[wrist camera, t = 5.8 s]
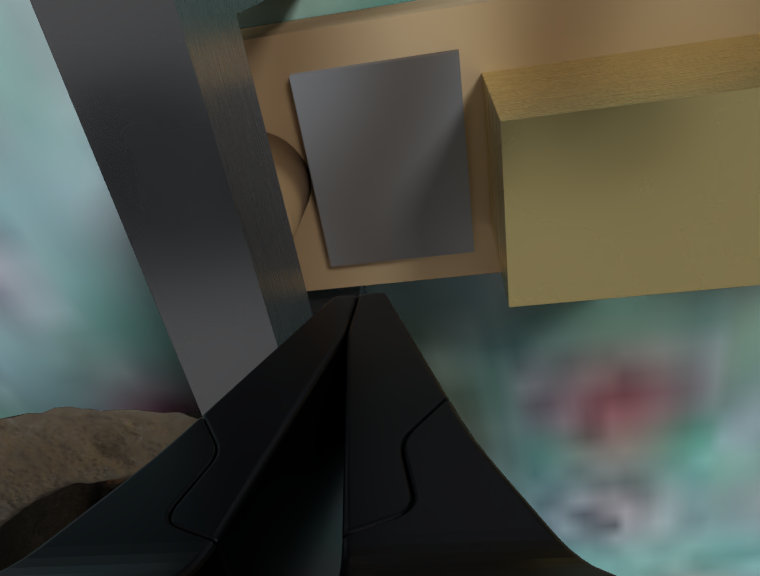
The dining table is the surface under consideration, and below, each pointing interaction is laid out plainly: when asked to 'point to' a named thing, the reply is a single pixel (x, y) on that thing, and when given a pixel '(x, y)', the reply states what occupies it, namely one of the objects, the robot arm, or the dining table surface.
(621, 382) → the dining table surface
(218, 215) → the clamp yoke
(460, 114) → the plane body
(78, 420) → the stone bowl
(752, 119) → the olive wooden block
